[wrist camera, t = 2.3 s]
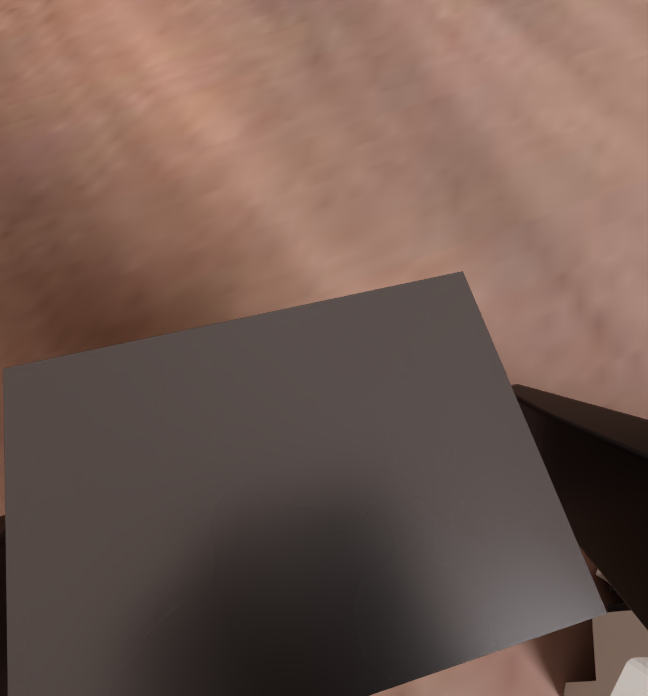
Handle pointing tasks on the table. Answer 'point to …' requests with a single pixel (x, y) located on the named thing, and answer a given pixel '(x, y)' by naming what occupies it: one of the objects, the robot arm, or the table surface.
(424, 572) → the bar
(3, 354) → the table surface
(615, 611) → the white rounded housing
